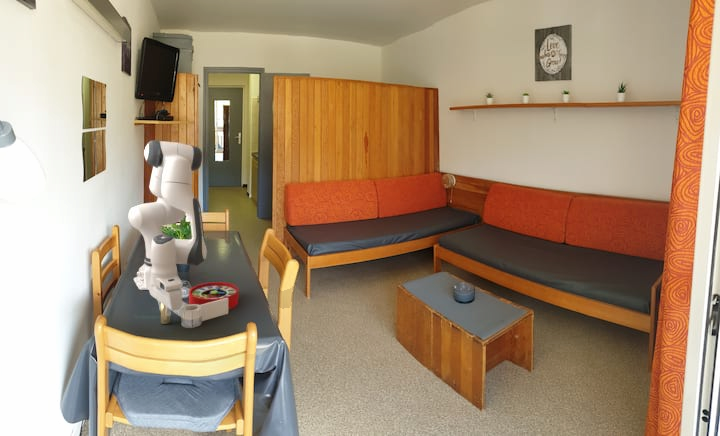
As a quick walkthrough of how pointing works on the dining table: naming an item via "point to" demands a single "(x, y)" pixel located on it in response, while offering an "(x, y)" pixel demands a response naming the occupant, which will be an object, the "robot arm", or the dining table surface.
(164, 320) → the hinge pin
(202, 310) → the hinge leaf
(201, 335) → the dining table surface
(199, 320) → the hinge leaf
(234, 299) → the toy clock
